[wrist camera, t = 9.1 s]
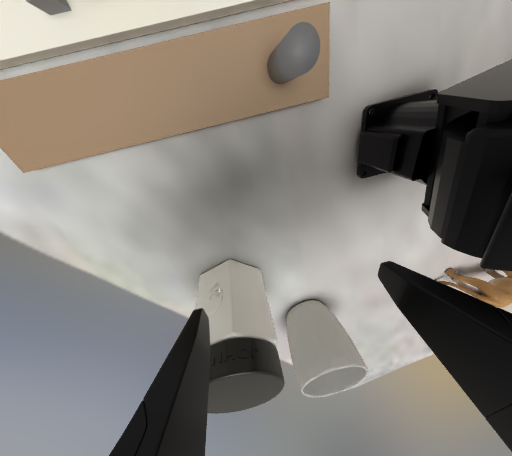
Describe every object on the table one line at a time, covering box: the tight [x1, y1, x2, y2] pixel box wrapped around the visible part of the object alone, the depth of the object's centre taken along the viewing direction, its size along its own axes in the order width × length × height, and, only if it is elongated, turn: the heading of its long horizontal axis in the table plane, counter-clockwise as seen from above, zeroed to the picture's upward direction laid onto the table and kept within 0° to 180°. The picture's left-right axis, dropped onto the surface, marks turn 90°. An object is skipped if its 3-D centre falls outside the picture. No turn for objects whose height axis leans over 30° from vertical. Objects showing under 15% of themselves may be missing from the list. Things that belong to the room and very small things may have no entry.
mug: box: [286, 300, 368, 397], centre depth 28 cm, size 13×9×10 cm
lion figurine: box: [438, 268, 512, 307], centre depth 29 cm, size 15×5×9 cm, turn 109°
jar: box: [195, 259, 284, 413], centre depth 20 cm, size 9×8×12 cm
